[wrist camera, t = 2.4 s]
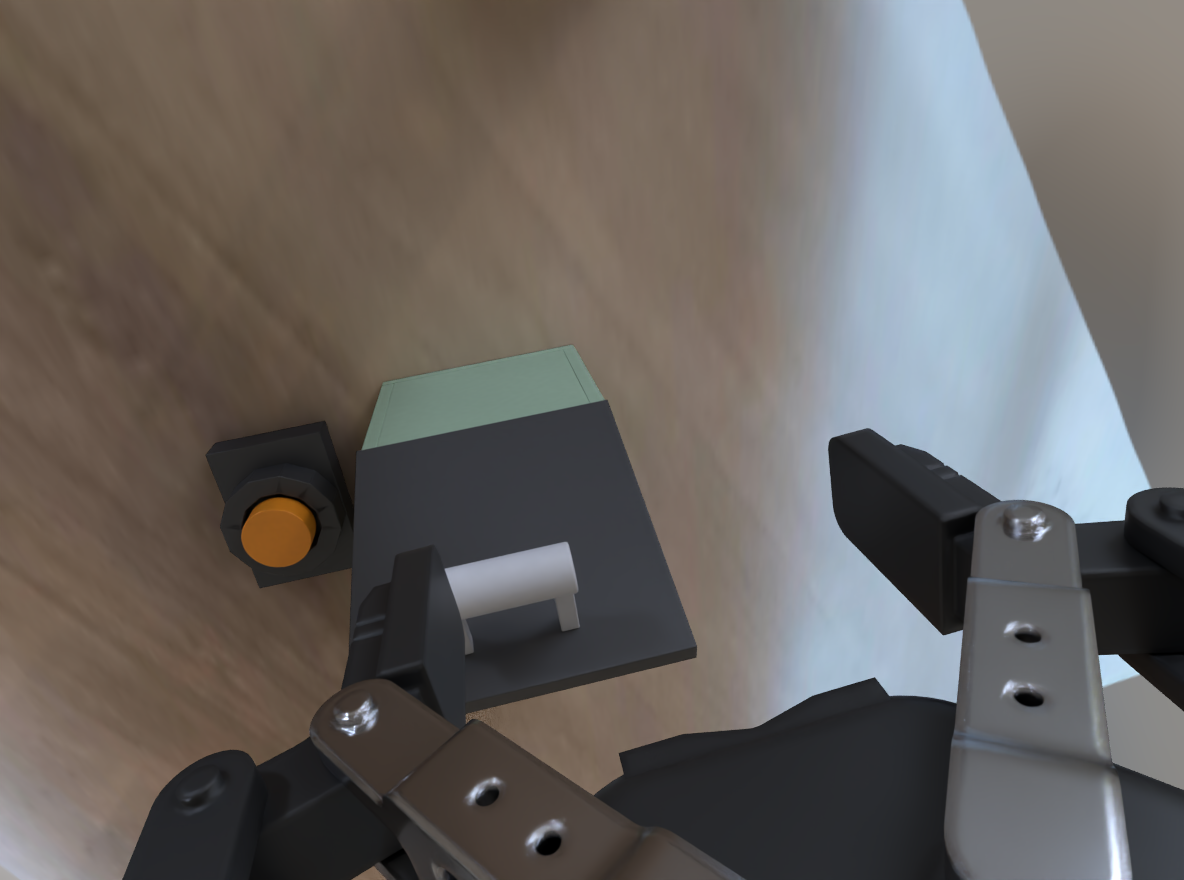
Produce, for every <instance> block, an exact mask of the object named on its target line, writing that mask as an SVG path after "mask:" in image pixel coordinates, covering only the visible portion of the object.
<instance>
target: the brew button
mask: <svg viewBox="0 0 1184 880" xmlns="http://www.w3.org/2000/svg"><path fill="white" fill-rule="evenodd" d="M315 533H316V521H315V518H314V516H313V514H312V512H311V511H310V510H309V509H308V508H307V507H306V506H305V505H304V504H302V503H301V502H299V501H297V500H295V499H291V498H287V497H275V498H270V499H267V500H264V501H263V502H261V503H259V504H258V505H257V506H256V507H255V508H254V509H253V510H252V512H251V514H250V516H249V517H248V519H247V521H246V523H245V524H244V526H243V529H242V533H241V540H242V544H243V547H244V549H245V551H246V552H247V553H248V554H249V556H250V557H252V558H253V559H254V560H255V561H257V562H259V563H261V564H263V565H266V566H271V567H286V566H290V565H293V564H295V563H297V562H299V561H300V560H302V559H303V558H304V557H305V556H306V555H307V553H308V552H309V550H310V547H311V544H312V542H313V539H314V536H315Z"/></svg>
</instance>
